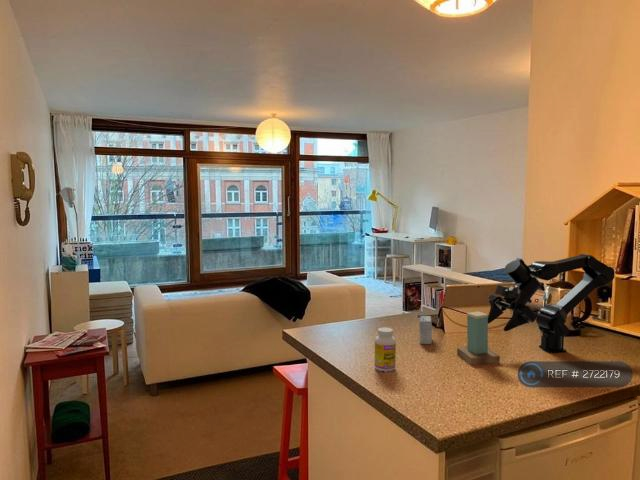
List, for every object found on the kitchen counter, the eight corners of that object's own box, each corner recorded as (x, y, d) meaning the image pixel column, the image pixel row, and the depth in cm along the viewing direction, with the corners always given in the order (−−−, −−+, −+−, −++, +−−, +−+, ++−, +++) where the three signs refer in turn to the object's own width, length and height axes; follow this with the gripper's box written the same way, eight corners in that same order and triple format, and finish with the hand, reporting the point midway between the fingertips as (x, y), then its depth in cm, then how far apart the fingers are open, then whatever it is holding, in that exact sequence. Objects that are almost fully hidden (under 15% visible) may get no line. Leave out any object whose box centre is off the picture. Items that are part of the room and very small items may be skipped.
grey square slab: (484, 354, 163) (484, 345, 163) (499, 364, 153) (499, 355, 153) (457, 356, 162) (457, 347, 161) (470, 367, 152) (471, 358, 152)
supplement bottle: (382, 374, 146) (382, 333, 144) (370, 367, 152) (370, 328, 150) (399, 370, 149) (400, 330, 147) (387, 363, 155) (387, 325, 153)
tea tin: (478, 348, 160) (478, 311, 159) (488, 352, 156) (488, 314, 155) (466, 350, 159) (466, 313, 158) (476, 354, 154) (476, 316, 153)
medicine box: (431, 344, 172) (432, 321, 171) (419, 344, 173) (419, 321, 172) (431, 337, 180) (431, 315, 179) (419, 337, 181) (419, 315, 180)
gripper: (493, 271, 166) (465, 304, 165) (529, 282, 149) (499, 319, 147) (511, 291, 169) (484, 324, 168) (549, 304, 152) (519, 340, 150)
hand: (495, 326), depth 158 cm, fingers open, 9 cm apart
